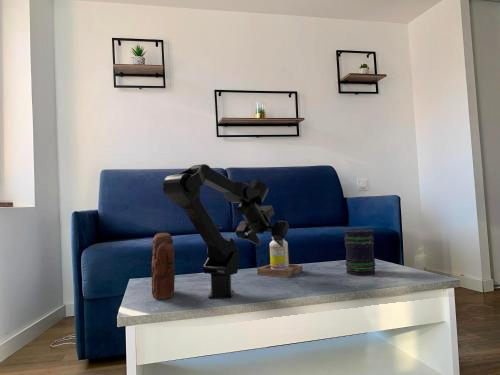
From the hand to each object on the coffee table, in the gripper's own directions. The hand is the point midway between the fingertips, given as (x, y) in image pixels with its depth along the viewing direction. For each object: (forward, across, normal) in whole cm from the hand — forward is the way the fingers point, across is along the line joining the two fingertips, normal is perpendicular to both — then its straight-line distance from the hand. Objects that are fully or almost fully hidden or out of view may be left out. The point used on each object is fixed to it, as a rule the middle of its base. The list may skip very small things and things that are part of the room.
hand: (271, 245), depth 121 cm
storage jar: (+20, -26, -5) cm, 33 cm away
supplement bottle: (+11, 0, +3) cm, 11 cm away
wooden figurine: (-16, +16, +33) cm, 40 cm away
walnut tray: (+12, 0, +3) cm, 12 cm away
